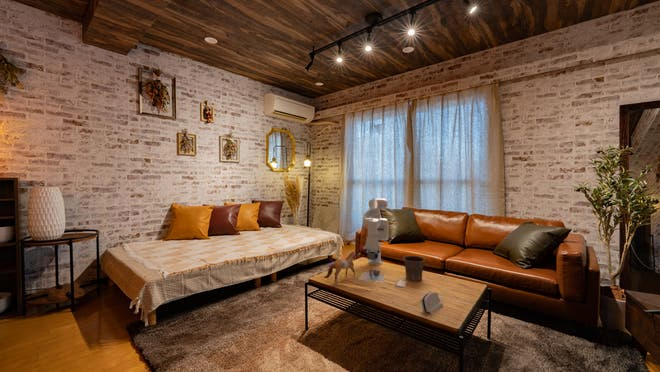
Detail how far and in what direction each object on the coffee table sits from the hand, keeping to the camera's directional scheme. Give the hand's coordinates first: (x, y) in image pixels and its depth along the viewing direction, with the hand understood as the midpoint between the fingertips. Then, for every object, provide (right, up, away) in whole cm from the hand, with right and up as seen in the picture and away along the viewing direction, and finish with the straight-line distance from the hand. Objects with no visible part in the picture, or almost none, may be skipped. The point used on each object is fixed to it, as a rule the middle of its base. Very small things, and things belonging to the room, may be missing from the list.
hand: (372, 257), depth 216 cm
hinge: (+29, -19, -47) cm, 59 cm away
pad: (+19, -17, -9) cm, 27 cm away
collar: (0, -1, 0) cm, 1 cm away
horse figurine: (-26, -17, -2) cm, 31 cm away
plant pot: (+33, -17, +1) cm, 38 cm away
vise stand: (0, -17, 0) cm, 17 cm away
